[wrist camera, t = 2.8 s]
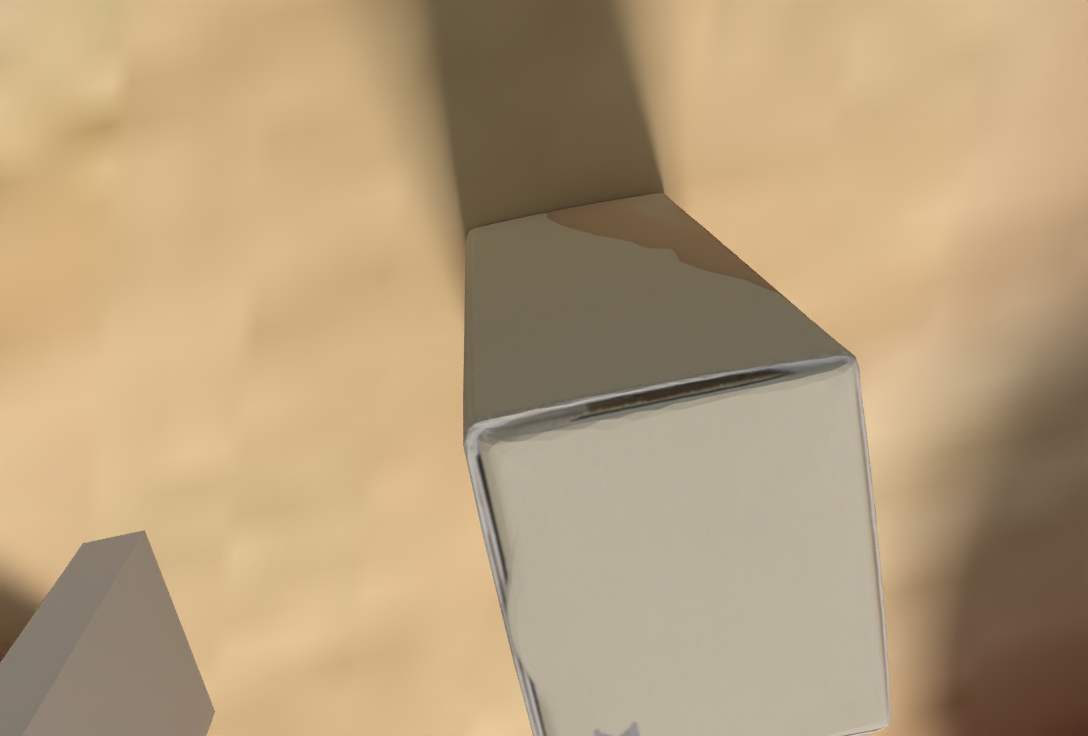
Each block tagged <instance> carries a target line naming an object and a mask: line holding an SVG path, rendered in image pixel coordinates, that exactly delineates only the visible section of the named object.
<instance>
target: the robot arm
mask: <svg viewBox="0 0 1088 736" xmlns="http://www.w3.org/2000/svg"><path fill="white" fill-rule="evenodd" d="M214 712H215V711H214V708H213V706H212V703H211V700H210V698H209V695H208V693H207V690H206V687H205V685H204V682H203V680H202V677H201V675H200V672H199V669H198V667H197V664H196V662H195V659H194V657H193V654H192V651H191V649H190V646H189V644H188V641H187V638H186V636H185V633H184V631H183V628H182V626H181V623H180V620H179V618H178V615H177V613H176V610H175V607H174V605H173V602H172V600H171V597H170V595H169V592H168V589H167V587H166V584H165V582H164V579H163V576H162V574H161V571H160V569H159V566H158V564H157V561H156V558H155V556H154V553H153V551H152V548H151V545H150V543H149V540H148V538H147V535H146V533H145V531H140V532H135V533H130V534H126V535H121V536H116V537H111V538H106V539H102V540H97V541H92V542H87V543H83V544H82V546H81V547H80V548H79V550H78V551H77V553H76V554H75V556H74V557H73V559H72V560H71V561H70V563H69V564H68V566H67V567H66V569H65V570H64V571H63V573H62V574H61V576H60V577H59V579H58V580H57V582H56V583H55V584H54V586H53V587H52V589H51V590H50V592H49V593H48V595H47V596H46V597H45V599H44V600H43V602H42V603H41V605H40V606H39V608H38V609H37V610H36V612H35V613H34V615H33V616H32V618H31V619H30V621H29V622H28V623H27V625H26V626H25V628H24V629H23V631H22V632H21V634H20V635H19V636H18V638H17V639H16V641H15V642H14V644H13V645H12V646H11V648H10V649H9V651H8V652H7V654H6V655H5V657H4V658H3V659H2V661H1V662H0V736H206V735H207V732H208V730H209V727H210V724H211V721H212V718H213V715H214Z"/></svg>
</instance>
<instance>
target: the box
mask: <svg viewBox="0 0 1088 736" xmlns="http://www.w3.org/2000/svg"><path fill="white" fill-rule="evenodd" d="M464 320H465V326H464V384H463V434H464V438H463V439H464V440H463V446H464V450H465V455H466V460H467V464H468V469H469V473H470V478H471V483H472V487H473V492H474V496H475V501H476V506H477V510H478V515H479V520H480V524H481V529H482V533H483V538H484V542H485V546H486V550H487V554H488V558H489V562H490V567H491V571H492V575H493V579H494V583H495V587H496V591H497V595H498V599H499V604H500V608H501V612H502V616H503V620H504V624H505V628H506V632H507V637H508V641H509V645H510V649H511V653H512V657H513V661H514V665H515V668H516V672H517V676H518V680H519V683H520V687H521V691H522V695H523V698H524V702H525V706H526V710H527V713H528V717H529V721H530V725H531V728H532V732H533V736H862V735H867V734H871V733H874V732H877V731H879V730H882V729H884V728H886V727H887V726H888V724H889V722H890V716H891V706H890V694H889V673H888V658H887V637H886V626H885V610H884V600H883V586H882V575H881V564H880V554H879V546H878V538H877V524H876V511H875V504H874V498H873V489H872V478H871V469H870V459H869V450H868V441H867V432H866V425H865V417H864V410H863V402H862V395H861V387H860V371H859V366H858V363H857V360H856V357H855V356H854V355H853V354H852V353H851V352H850V351H848V350H847V349H846V348H844V347H843V346H842V345H841V344H839V343H838V342H837V341H836V340H834V339H833V338H832V337H831V336H830V335H828V334H827V333H826V332H825V331H824V330H823V329H821V328H820V327H819V326H818V325H817V324H816V323H814V322H813V321H812V320H810V319H809V318H808V317H807V316H806V315H805V314H804V313H803V312H802V311H800V310H799V309H798V308H797V307H796V306H795V305H793V304H792V303H791V302H790V301H789V300H788V299H786V298H785V297H784V296H783V295H782V294H781V293H779V292H778V291H777V290H776V289H775V288H774V287H772V286H771V285H770V284H769V283H768V282H767V281H765V280H764V279H763V278H762V277H761V276H760V275H758V274H757V273H756V272H755V271H754V270H753V269H752V268H750V267H749V266H748V265H747V264H746V263H745V262H743V261H742V260H741V259H740V258H739V257H738V256H737V255H735V254H734V253H733V252H732V251H731V250H729V249H728V248H727V247H726V246H724V245H723V244H722V243H721V242H720V241H719V240H718V239H717V238H715V237H714V236H713V235H712V234H711V233H710V232H709V231H707V230H706V229H705V228H704V227H703V226H701V225H700V224H699V223H698V222H697V221H695V220H694V219H693V218H692V217H690V216H689V215H688V214H687V213H686V212H685V211H684V210H682V209H681V208H680V207H679V206H678V205H676V204H675V203H674V202H673V201H672V200H671V199H670V198H668V197H667V196H666V195H665V194H662V193H653V194H648V195H642V196H636V197H629V198H623V199H617V200H611V201H605V202H599V203H594V204H588V205H583V206H577V207H572V208H567V209H562V210H556V211H551V212H546V213H542V214H537V215H532V216H527V217H522V218H517V219H513V220H508V221H504V222H499V223H494V224H490V225H486V226H481V227H477V228H474V229H472V230H470V231H469V232H468V234H467V237H466V266H465V317H464Z"/></svg>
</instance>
